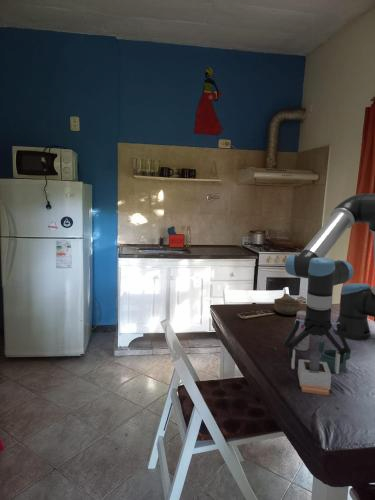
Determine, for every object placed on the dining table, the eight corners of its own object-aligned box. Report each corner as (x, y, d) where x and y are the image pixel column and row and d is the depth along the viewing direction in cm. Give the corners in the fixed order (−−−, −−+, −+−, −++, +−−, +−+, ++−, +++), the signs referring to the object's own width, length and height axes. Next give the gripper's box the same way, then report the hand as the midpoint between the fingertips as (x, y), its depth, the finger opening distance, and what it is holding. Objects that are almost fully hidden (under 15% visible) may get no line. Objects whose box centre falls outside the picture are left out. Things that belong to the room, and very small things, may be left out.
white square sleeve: (330, 390, 110) (331, 375, 110) (300, 386, 112) (301, 371, 112) (325, 376, 119) (326, 362, 118) (297, 372, 121) (298, 359, 120)
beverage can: (310, 347, 145) (312, 312, 143) (307, 352, 140) (309, 315, 138) (296, 344, 148) (298, 309, 146) (292, 349, 143) (295, 313, 141)
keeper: (323, 376, 121) (325, 347, 119) (328, 395, 109) (331, 363, 108) (298, 373, 122) (300, 345, 121) (301, 391, 111) (304, 360, 109)
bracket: (315, 361, 132) (317, 339, 131) (339, 361, 133) (341, 339, 131) (326, 373, 123) (328, 349, 122) (352, 373, 124) (354, 349, 122)
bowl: (266, 304, 199) (272, 288, 198) (290, 312, 199) (296, 295, 198) (273, 314, 181) (280, 296, 180) (299, 322, 182) (306, 304, 180)
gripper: (358, 306, 113) (352, 368, 116) (278, 300, 118) (274, 360, 122) (364, 313, 106) (358, 379, 109) (278, 307, 111) (275, 370, 114)
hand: (314, 369), depth 115 cm, fingers open, 13 cm apart
